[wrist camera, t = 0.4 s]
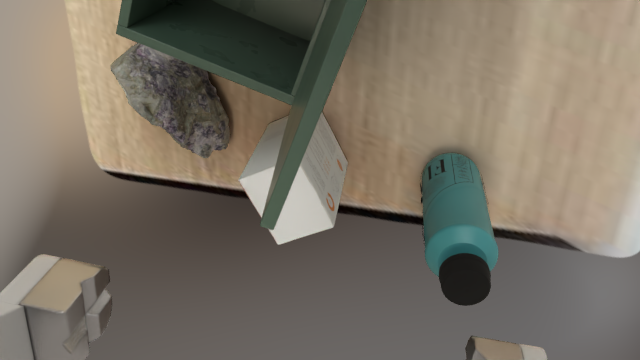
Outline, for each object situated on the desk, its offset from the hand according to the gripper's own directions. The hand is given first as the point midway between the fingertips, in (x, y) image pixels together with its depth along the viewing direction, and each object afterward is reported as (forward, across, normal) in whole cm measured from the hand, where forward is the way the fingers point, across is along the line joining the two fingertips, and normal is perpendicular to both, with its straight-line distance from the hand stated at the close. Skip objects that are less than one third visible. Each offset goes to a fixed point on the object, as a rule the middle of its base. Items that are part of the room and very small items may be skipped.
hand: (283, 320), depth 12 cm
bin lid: (+23, +3, +2) cm, 23 cm away
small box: (+47, +5, +19) cm, 51 cm away
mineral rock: (+47, +20, +14) cm, 53 cm away
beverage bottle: (+47, -11, +19) cm, 52 cm away
